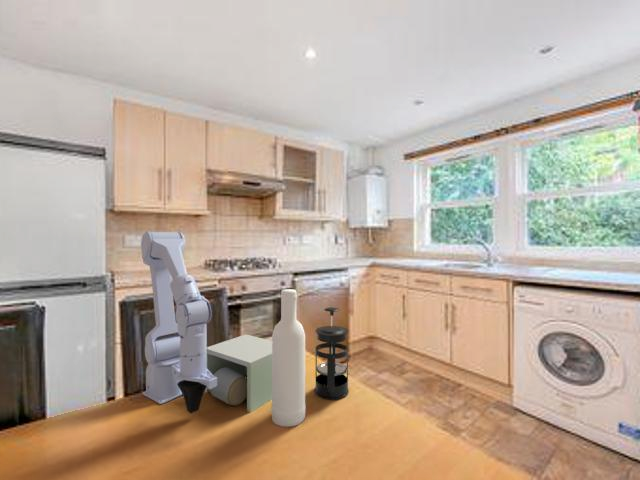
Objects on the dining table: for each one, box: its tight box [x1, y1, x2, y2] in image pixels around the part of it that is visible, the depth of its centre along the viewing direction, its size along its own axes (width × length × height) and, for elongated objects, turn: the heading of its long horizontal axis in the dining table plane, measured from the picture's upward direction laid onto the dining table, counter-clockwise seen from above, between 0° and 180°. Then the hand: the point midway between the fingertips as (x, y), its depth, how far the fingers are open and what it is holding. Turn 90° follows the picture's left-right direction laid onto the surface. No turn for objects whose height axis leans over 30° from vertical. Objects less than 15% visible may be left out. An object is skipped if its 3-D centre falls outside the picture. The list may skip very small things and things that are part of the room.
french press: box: [314, 306, 350, 401], centre depth 85 cm, size 12×9×23 cm
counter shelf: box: [204, 334, 272, 413], centre depth 86 cm, size 18×15×12 cm
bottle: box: [271, 288, 307, 428], centre depth 73 cm, size 8×8×30 cm
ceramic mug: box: [209, 367, 247, 406], centre depth 82 cm, size 11×8×8 cm
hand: (193, 410), depth 72 cm, fingers closed
